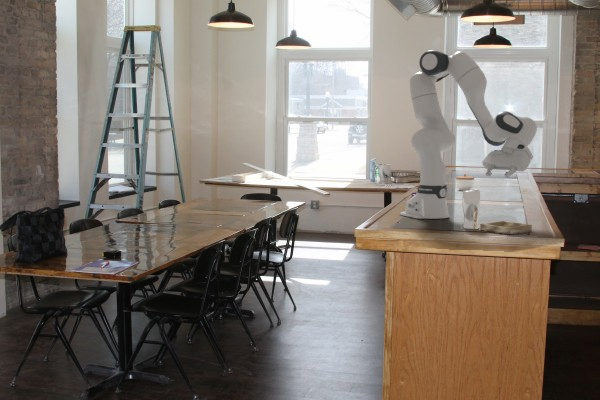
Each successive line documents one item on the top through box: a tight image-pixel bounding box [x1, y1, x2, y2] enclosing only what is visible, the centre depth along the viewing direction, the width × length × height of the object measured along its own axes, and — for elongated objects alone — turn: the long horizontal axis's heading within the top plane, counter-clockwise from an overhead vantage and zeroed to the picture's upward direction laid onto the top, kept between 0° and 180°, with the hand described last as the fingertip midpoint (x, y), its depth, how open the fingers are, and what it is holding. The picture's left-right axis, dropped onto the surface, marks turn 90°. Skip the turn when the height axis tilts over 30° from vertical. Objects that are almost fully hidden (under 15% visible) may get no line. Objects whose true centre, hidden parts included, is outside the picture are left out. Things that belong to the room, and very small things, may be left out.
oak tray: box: [479, 220, 533, 235], centre depth 287 cm, size 14×14×3 cm
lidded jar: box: [455, 173, 475, 191], centre depth 442 cm, size 11×11×9 cm
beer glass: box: [461, 189, 482, 230], centre depth 294 cm, size 7×7×15 cm
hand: (496, 176), depth 301 cm, fingers open, 8 cm apart
